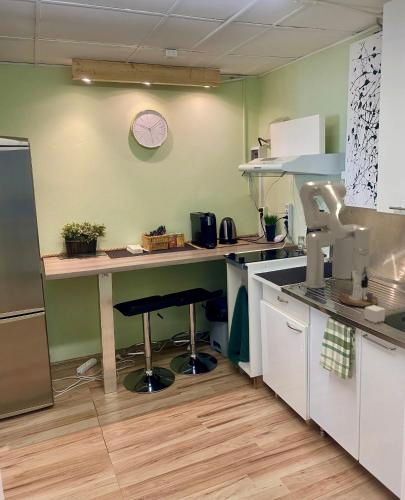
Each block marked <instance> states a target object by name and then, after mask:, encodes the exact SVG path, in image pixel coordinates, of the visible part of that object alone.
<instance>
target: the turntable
mask: <svg viewBox="0 0 405 500" xmlns="http://www.w3.org/2000/svg"><path fill="white" fill-rule="evenodd" d="M373 294H374V293H372V292H366V295H365V297H364V298H363V299H362V300H361V299H355V298H351V291H348V292H346V291H345V292H343V293H341V294H340V295H339V301H340V302H342V303H343V304H346V305H348V306H349V305H350V306H354V307H369V306H372V305H375V306H376V305H377V304H378V297H377V296H375V295H373Z"/></svg>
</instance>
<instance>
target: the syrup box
mask: <svg viewBox="0 0 405 500" xmlns="http://www.w3.org/2000/svg"><path fill="white" fill-rule="evenodd" d="M363 274H365V272H363ZM364 277H365V276H364ZM362 280H363V279H362V276H361V275H357V274H356V271H355V270H353V272H352V282H351V285H350V286H351V287H350V292H351V298H355V299H361V300H362V299H363V298H364V297H365V295H366V293H367V287H366V288H362V287H361V281H362Z"/></svg>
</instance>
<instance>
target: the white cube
mask: <svg viewBox="0 0 405 500" xmlns="http://www.w3.org/2000/svg"><path fill="white" fill-rule="evenodd" d="M385 315H386V309H385V308H384V307H381V306H378V305H376V304H375V305H372V306H364V317H363V319H364V318H365V319H368V320H370V321H374V322H378V321H383V322H385V318H386V317H385ZM383 322H382V323H383Z"/></svg>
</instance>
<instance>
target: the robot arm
mask: <svg viewBox="0 0 405 500" xmlns="http://www.w3.org/2000/svg"><path fill="white" fill-rule="evenodd" d="M346 195H347V187H346V186H345V185H344V184H343V183H341V182H337V181H332V180H326V179H325V180H324V179H323V180H321V179H320V180H310V181H306V182H304V183H302V185H301V186H300V188H299V198H300V202H301V205H302V208H303V210H302V211H303V214H304V215H303V216H304V220H305V226H306V228H307V229H309V230H318V231H312V232H309V233H307V234H306V236H305V245H306V246H305V247H306V271H305V272H306V276H305V278H306V279H305V281H303V282H302V283H303V286H304V287H305V288H309V289H323V288H326V286H327V283H326V282H324V272H325V271H324V269H325V267H324V266H325V254H324V252H323V250H322V248H330V247H332V246H333V245H334V243H335V240H336V238H337V239H339V240H349V239H354V242H353V254H352V258H351V264H350V270H351V274H352V272H353V270H355V271H356V274H357V275H361V276H362V279H363V280H362V281H361V287H362V288H366V289H367V288H368V287H369V286H368V285H369V279H370V277H371V274H372V273H371V271H370V244H371V243H370V242H371V228H370V227H368V226H364V225H363V226H362V225H359V224H356V223H353V224H344V225H343V223H342V222H341V221H340V218H339V214H342V213H343V212H344V210H345V209H346V208H347V207H346V203H345V202H344V200H343V198H345V197H346ZM320 196H321V198H322V200H323V202H324V203H325V205H326V207H327V209H328V210H329V212H328V211H320V206H319V202H318V201H317V199H315V197H320ZM319 229H320V230H319ZM363 272H365V274H363ZM364 276H365V277H364ZM350 282H351V283H352V275H351V279H350Z"/></svg>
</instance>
